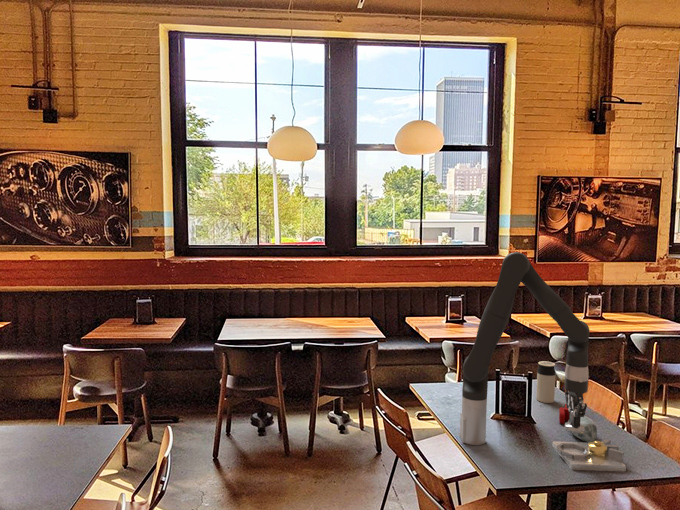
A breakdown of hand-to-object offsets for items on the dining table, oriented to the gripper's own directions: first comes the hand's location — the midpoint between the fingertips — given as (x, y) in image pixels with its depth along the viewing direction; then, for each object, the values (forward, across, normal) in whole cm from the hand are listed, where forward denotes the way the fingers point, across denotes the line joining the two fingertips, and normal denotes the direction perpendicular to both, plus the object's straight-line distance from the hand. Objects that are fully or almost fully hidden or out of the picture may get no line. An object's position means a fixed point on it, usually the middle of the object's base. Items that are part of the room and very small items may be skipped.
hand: (574, 424), depth 184 cm
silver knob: (+2, 0, 0) cm, 2 cm away
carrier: (+12, 0, +5) cm, 13 cm away
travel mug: (+13, -60, +11) cm, 62 cm away
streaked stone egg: (+13, -19, +11) cm, 25 cm away
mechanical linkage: (+13, -37, +13) cm, 41 cm away
